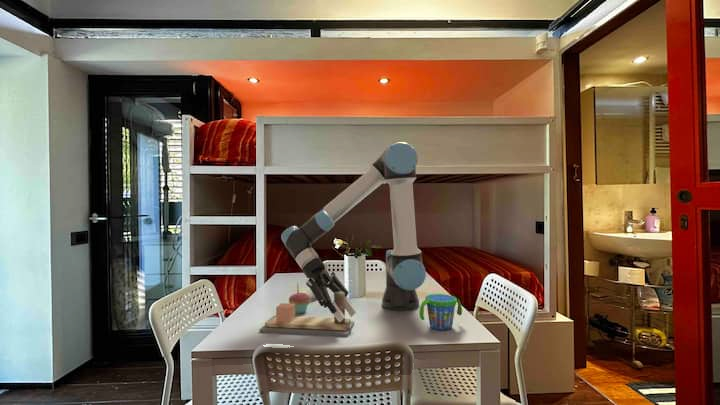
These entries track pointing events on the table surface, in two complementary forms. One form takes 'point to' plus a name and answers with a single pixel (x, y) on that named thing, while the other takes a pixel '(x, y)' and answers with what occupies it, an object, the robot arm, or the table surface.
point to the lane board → (308, 331)
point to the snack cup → (440, 310)
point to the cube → (285, 312)
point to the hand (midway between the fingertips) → (348, 317)
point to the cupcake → (299, 301)
